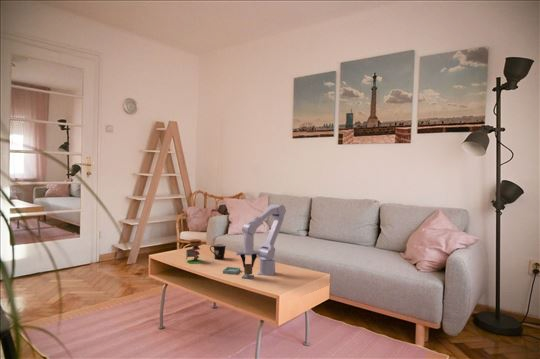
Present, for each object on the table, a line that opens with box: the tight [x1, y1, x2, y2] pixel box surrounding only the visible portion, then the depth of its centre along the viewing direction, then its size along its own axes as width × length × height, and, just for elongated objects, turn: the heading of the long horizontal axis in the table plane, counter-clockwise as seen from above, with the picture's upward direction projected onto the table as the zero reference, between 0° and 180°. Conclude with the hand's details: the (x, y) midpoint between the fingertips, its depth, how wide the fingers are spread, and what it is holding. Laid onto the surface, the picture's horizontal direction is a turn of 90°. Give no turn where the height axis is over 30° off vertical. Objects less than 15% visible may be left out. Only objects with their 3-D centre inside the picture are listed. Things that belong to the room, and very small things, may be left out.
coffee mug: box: [209, 243, 226, 261], centre depth 258 cm, size 12×9×10 cm
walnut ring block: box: [243, 263, 253, 275], centre depth 214 cm, size 4×4×5 cm
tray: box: [222, 266, 241, 275], centre depth 225 cm, size 9×9×2 cm
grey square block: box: [241, 273, 255, 280], centre depth 214 cm, size 6×6×4 cm
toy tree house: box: [185, 239, 204, 265], centre depth 247 cm, size 12×13×15 cm
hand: (248, 266), depth 214 cm, fingers closed on walnut ring block, 4 cm apart
